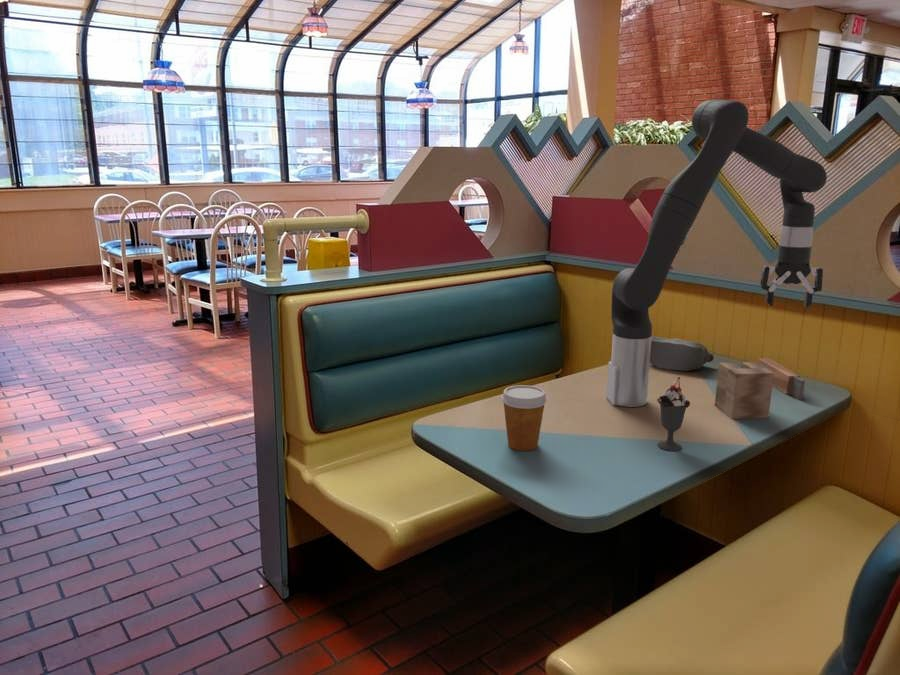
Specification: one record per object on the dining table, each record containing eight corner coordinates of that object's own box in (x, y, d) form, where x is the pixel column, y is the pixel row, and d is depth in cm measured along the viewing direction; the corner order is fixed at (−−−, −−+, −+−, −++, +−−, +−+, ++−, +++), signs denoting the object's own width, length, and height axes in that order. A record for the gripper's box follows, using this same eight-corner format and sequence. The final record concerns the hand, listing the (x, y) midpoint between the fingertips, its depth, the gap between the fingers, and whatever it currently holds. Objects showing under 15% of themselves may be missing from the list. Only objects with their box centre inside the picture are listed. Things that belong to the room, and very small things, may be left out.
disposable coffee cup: (516, 432, 158) (518, 381, 155) (553, 443, 152) (555, 390, 149) (491, 446, 151) (492, 392, 148) (529, 458, 145) (531, 402, 142)
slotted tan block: (731, 418, 166) (736, 374, 163) (714, 405, 175) (719, 362, 172) (768, 417, 167) (773, 373, 164) (749, 404, 176) (754, 361, 173)
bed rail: (794, 399, 179) (797, 380, 178) (755, 375, 198) (757, 358, 197) (806, 399, 179) (808, 380, 178) (766, 375, 198) (768, 358, 197)
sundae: (682, 440, 154) (688, 374, 150) (689, 453, 147) (695, 384, 143) (650, 439, 154) (656, 373, 150) (656, 452, 148) (662, 383, 144)
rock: (714, 365, 207) (716, 339, 205) (704, 375, 198) (707, 348, 196) (652, 356, 217) (654, 331, 215) (640, 365, 208) (642, 339, 206)
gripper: (767, 245, 178) (761, 308, 182) (829, 246, 175) (821, 310, 179) (762, 241, 185) (756, 302, 190) (822, 242, 182) (814, 304, 186)
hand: (788, 306), depth 184 cm, fingers open, 8 cm apart
